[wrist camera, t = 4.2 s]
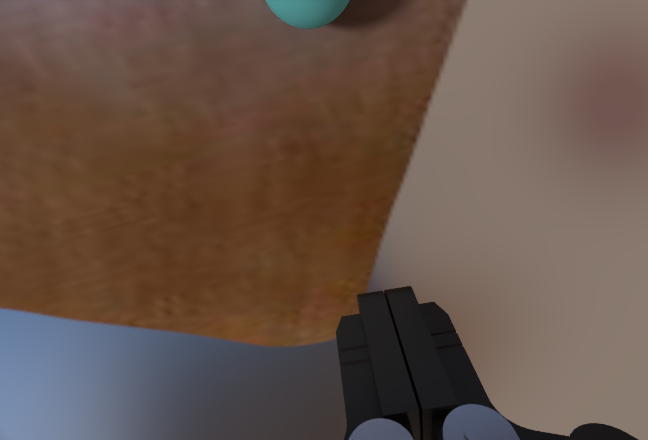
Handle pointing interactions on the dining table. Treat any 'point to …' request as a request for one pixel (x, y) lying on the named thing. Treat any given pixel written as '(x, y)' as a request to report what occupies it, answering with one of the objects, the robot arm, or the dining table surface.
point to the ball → (307, 11)
